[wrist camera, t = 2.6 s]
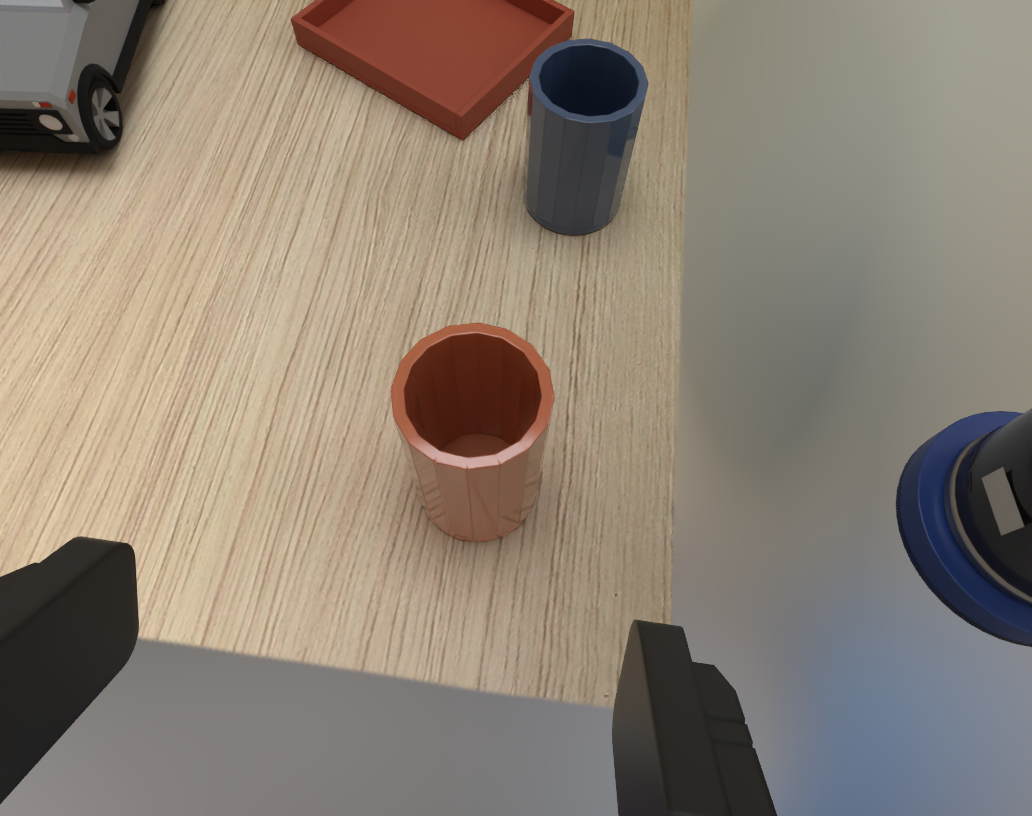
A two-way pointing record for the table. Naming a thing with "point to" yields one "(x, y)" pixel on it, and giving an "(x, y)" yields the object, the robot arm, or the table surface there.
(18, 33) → the toy car
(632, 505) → the table surface
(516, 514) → the terracotta cup
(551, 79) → the slate cup
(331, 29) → the rust tray
